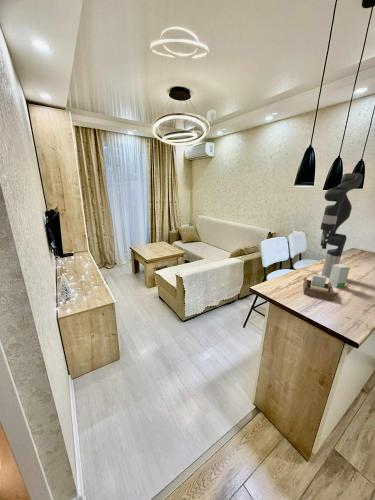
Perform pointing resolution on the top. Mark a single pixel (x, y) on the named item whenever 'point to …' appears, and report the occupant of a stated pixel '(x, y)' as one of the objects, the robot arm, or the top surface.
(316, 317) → the top surface
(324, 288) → the offcut upper
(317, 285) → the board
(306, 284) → the rack
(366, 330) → the top surface
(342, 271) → the skincare box
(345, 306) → the top surface
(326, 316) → the top surface
